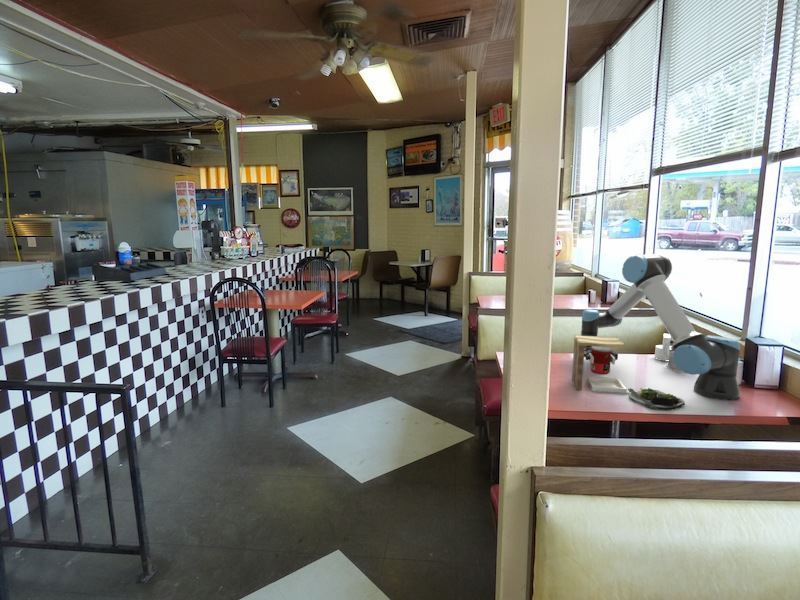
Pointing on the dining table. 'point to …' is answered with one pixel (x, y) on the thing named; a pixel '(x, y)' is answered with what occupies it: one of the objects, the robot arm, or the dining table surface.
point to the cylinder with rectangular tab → (660, 348)
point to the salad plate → (656, 399)
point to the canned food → (601, 360)
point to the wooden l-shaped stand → (579, 353)
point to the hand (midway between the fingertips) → (603, 360)
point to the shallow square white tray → (606, 384)
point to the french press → (671, 363)
